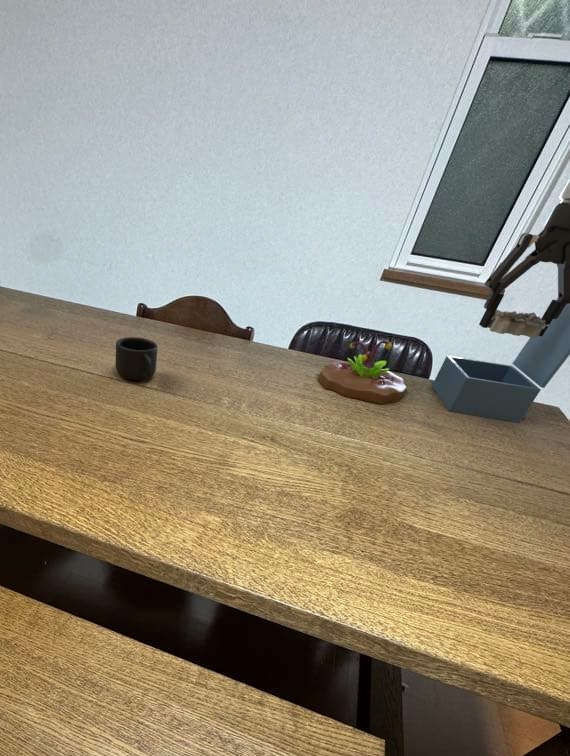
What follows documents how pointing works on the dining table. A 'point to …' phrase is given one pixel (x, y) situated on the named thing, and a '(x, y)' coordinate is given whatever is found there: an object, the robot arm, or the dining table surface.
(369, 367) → the plant
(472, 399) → the chest
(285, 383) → the dining table surface
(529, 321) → the egg carton
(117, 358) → the mug
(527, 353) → the lid
